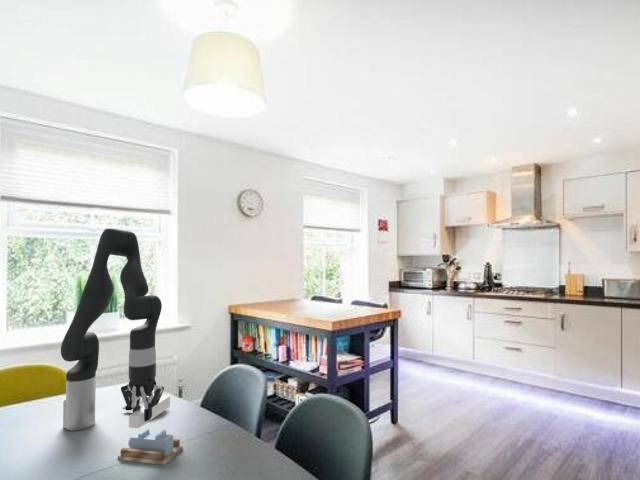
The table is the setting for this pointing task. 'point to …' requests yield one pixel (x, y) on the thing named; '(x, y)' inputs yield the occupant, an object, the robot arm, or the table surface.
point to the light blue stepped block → (152, 441)
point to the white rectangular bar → (138, 416)
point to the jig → (150, 454)
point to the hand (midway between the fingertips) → (142, 419)
